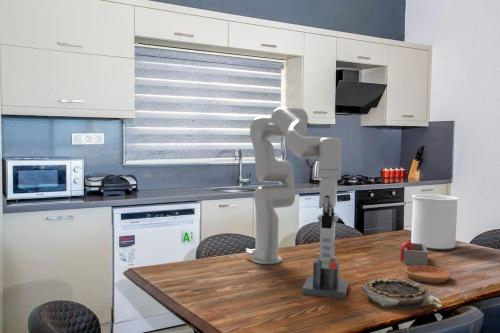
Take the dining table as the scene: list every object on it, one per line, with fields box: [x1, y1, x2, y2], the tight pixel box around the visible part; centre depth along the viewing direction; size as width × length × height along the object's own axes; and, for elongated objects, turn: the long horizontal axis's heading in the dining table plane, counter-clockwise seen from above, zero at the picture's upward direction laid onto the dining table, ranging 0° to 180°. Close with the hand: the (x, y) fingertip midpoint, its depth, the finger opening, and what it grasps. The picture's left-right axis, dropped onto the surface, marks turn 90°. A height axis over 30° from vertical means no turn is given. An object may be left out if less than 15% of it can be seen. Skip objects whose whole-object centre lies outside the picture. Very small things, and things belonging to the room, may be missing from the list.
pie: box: [358, 277, 443, 312], centre depth 151 cm, size 28×27×5 cm
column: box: [317, 214, 339, 269], centre depth 157 cm, size 6×5×17 cm
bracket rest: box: [402, 241, 429, 266], centre depth 199 cm, size 9×16×6 cm, turn 164°
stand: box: [301, 256, 349, 299], centre depth 158 cm, size 14×14×11 cm
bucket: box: [410, 193, 460, 251], centre depth 229 cm, size 26×22×24 cm
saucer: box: [404, 265, 452, 284], centre depth 175 cm, size 16×16×3 cm
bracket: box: [399, 241, 414, 263], centre depth 199 cm, size 12×4×8 cm, turn 121°
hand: (327, 225), depth 157 cm, fingers open, 8 cm apart
